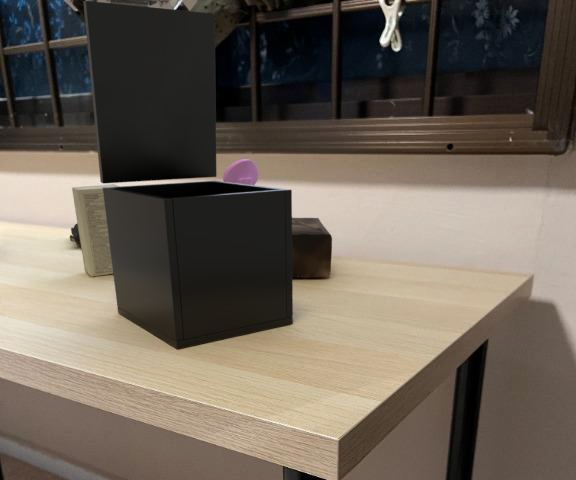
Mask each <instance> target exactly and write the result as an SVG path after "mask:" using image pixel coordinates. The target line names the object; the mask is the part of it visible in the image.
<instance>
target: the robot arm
mask: <svg viewBox="0 0 576 480" xmlns="http://www.w3.org/2000/svg"><path fill="white" fill-rule="evenodd" d="M63 1H64V2H65V4H67V5H68V6H69V8H70V10H71V11H72V12H73V13H74V14H75V15H76V17H78V18H79V19H80V20H81V22H82V23H84V25H85V27H86V24H85V13H84V3H83V1H94V2H104V3H114V4H124V5H134V6H144V7H154V8H163V9H173V10H183V11H192V9H193V8H194V6H195V5H196V4H197V2H198V1H199V0H178V2H177V3H176V5H175V7H172V5H171V2H170V1H171V0H63Z"/></svg>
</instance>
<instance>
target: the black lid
mask: <svg viewBox="0 0 576 480" xmlns="http://www.w3.org/2000/svg"><path fill="white" fill-rule="evenodd" d="M83 3H84V13H85V23H84V25H85V24H86V26H85V33H86V43H87V54H88V65H89V74H90V86H91V96H92V106H93V118H94V127H95V139H96V148H97V149H96V150H97V159H98V169H99V179H100V183H101V184H102V185H105V184H119V183H135V182H152V181H153V182H154V181H170V180H172V181H173V180H186V179H199V178H200V179H203V178H206V179H207V178H217V107H216V105H217V104H216V103H217V102H216V101H217V100H216V99H217V97H216V96H217V95H216V37H215V36H216V25H215V23H216V22H215V19H216V17H215V15H216V14H215V13H212V12H203V11H202V12H201V11H193V10H190V11H183V10H173V8H172V9H163V8H154V7H144V6H134V5H124V4H114V3H104V2H94V1H83Z"/></svg>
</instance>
